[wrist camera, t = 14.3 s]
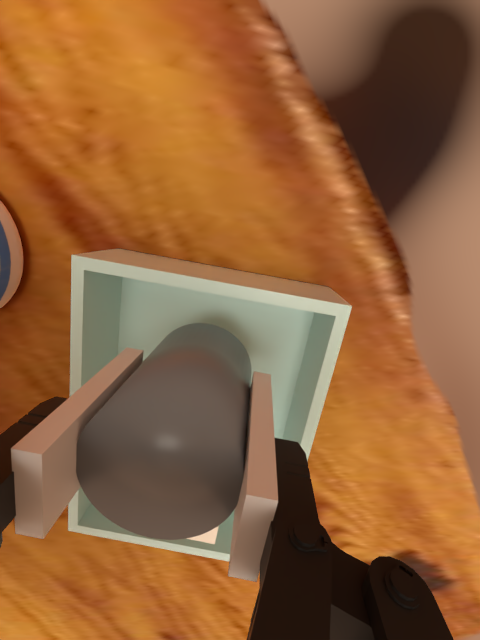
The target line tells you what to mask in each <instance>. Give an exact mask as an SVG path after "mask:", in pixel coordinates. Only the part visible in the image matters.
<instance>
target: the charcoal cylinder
mask: <svg viewBox="0 0 480 640" xmlns="http://www.w3.org/2000/svg"><path fill="white" fill-rule="evenodd" d="M251 374H252V368H251V361H250V358H249V355H248V353H247V351H246V349H245V347H244V346H243V344H242V343H241V342H240V341H239V339H238V338H236V337H235V336H234V335H233V334H232V333H230V332H229V331H227V330H225V329H223V328H221V327H219V326H216V325H212V324H207V323H192V324H187V325H184V326H181V327H179V328H177V329H175V330H173V331H172V332H171V333H169V334H168V335H167V336H166V337H165V338H164V339H163V340H162V341H161V343H160V344H159V345H158V346H157V347H156V348H155V349H154V350H153V351H152V352H151V354H150V355H149V356H148V357H147V358H146V359H145V360H144V361H143V362H142V364H141V365H140V366H139V367H138V368H137V369H136V370H135V371H134V372H133V374H132V375H131V376H130V377H129V378H128V379H127V380H126V381H125V382H124V383H123V385H122V386H121V387H120V388H119V389H118V390H117V391H116V392H115V393H114V395H113V396H112V397H111V398H110V399H109V400H108V401H107V402H106V403H105V405H104V406H103V407H102V408H101V409H100V410H99V411H98V412H97V413H96V414H95V416H94V417H93V418H92V419H91V420H90V421H89V422H88V423H87V425H86V426H85V428H84V429H83V430H82V432H81V434H80V436H79V439H78V441H77V449H76V474H77V478H78V481H79V483H80V486H81V488H82V490H83V492H84V493H85V495H86V496H87V498H88V499H89V501H90V502H91V503H92V504H93V506H94V507H95V508H96V509H97V510H98V511H99V512H100V513H101V514H102V515H104V516H105V517H106V518H107V519H109V520H110V521H112V522H113V523H115V524H116V525H118V526H120V527H121V528H124V529H126V530H128V531H130V532H133V533H135V534H138V535H141V536H145V537H149V538H155V539H163V540H178V539H186V538H192V537H195V536H199V535H202V534H204V533H206V532H209V531H211V530H212V529H214V528H216V527H218V526H219V525H220V524H221V523H223V522H224V521H225V520H226V519H227V518H228V517H229V516H230V515H231V514H232V512H233V511H234V509H235V508H236V506H237V504H238V500H239V495H240V491H241V486H242V481H243V477H244V464H245V450H246V437H247V424H248V410H249V397H250V387H251Z"/></svg>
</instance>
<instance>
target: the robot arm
mask: <svg viewBox="0 0 480 640" xmlns="http://www.w3.org/2000/svg"><path fill="white" fill-rule="evenodd" d="M143 351H144V350H139V349H133V348H128V347H127V348H125V349H124V350H123V351H122V352H121V353H120V354H119V355H117V356H116V357H115V358H114V359H113V360H112V361H110V362H109V363H108V364H107V365H106V366H105V367H104V368H102V369H101V370H100V371H99V372H98V373H97V374H96V375H94V376H93V377H92V378H91V379H90V380H89V381H88V382H86V383H85V384H84V385H83V386H82V387H81V388H80V389H78V390H77V391H76V392H75V393H74V394H73V395H72V396H70V397H69V398H68V399H66V398H61V397H54V398H52V399H49V400H47V401H45V402H42V403H40V404H39V405H38V406H36V407H35V408H34V409H33V410H31V411H30V412H29V413H28V415H25V416H24V417H22V418H21V419H20V420H19V421H18V423H15V424H13V425H12V426H11V427H10V428H8V429H7V430H6V431H5V432H3V433H2V434H1V435H0V547H1V544H2V531H3V530H4V529H5V528H6V527H7V525H8V524H9V523H10V522H11V521H12V520H13V518H14V517H15V534H20V535H25V536H30V537H35V538H40V539H44V538H45V536H46V535H47V533H48V532H49V530H50V529H51V528H52V526H53V525H54V523H55V522H56V521H57V519H58V518H59V516H60V515H61V513H62V512H63V511H64V509H65V508H66V506H67V505H68V504H69V502H70V501H71V499H72V498H73V496H74V495H75V494H76V492H77V491H78V489H79V488H80V487H81V486H80V483H79V481H78V478H77V474H76V449H77V441H78V439H79V436H80V434H81V432H82V430H83V429H84V428H85V426H86V425H87V423H88V422H89V421H90V420H91V419H92V418H93V417H94V416H95V414H96V413H97V412H98V411H99V410H100V409H101V408H102V407H103V406H104V405H105V403H106V402H107V401H108V400H109V399H110V398H111V397H112V396H113V395H114V393H115V392H116V391H117V390H118V389H119V388H120V387H121V386H122V385H123V383H124V382H125V381H126V380H127V379H128V378H129V377H130V376H131V375H132V374H133V372H134V371H135V370H136V369H137V368H138V367H139V366H140V365H141V364H142V362H143ZM259 571H260V589H259V593H258V596H257V600H256V603H255V607H254V611H253V614H252V618H251V624H250V628H249V632H248V637H247V640H453V637H452V635H451V633H450V631H449V629H448V627H447V624H446V622H445V620H444V618H443V616H442V613H441V611H440V609H439V607H438V605H437V603H436V600H435V598H434V596H433V594H432V593H431V591H430V589H429V588H428V586H427V584H426V583H425V581H424V580H423V579H422V578H421V577H420V576H419V575H418V574H417V573H416V572H415V571H414V570H413V569H412V568H410V567H409V566H408V565H406V564H405V563H403V562H402V561H400V560H397V559H395V558H392V557H378V558H376V559H375V560H373V561H372V563H371V565H368V564H366V563H364V562H362V561H360V560H358V559H356V558H354V557H352V556H351V555H349V554H347V553H345V552H344V551H342V550H341V549H339V548H338V547H337V546H336V545H335V544H333V543H332V542H331V539H330V537H329V535H328V533H327V531H326V530H325V528H324V527H323V526H322V525H321V524H320V522H319V519H318V514H317V508H316V503H315V498H314V493H313V488H312V483H311V479H310V473H309V468H308V462H307V457H306V453H305V452H304V450H303V449H302V447H301V446H300V444H299V443H298V442H295V441H290V440H285V439H279V438H275V437H274V420H273V404H272V387H271V374H266V373H260V372H255V371H254V373H253V377H252V382H251V387H250V397H249V410H248V424H247V437H246V450H245V464H244V477H243V481H242V486H241V491H240V495H239V500H238V504H237V506H236V508H235V509H234V520H233V530H232V540H231V550H230V560H229V570H228V576H230V577H235V578H240V579H245V580H250V581H255V582H257V578H258V575H259Z"/></svg>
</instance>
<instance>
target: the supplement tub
mask: <svg viewBox="0 0 480 640" xmlns="http://www.w3.org/2000/svg"><path fill="white" fill-rule="evenodd" d="M22 273H23V249H22V243H21V239H20V236H19V233H18V230H17V227H16V225H15V223H14V221H13V219H12V217H11V215H10V213H9V212H8V210H7V209H6V207H5V206H4V204H3V203H2V202H1V201H0V308H2V307H3V306H4V305H5V304H6V303H7V302H8V301H9V300H10V299H11V298H12V296H13V295H14V293H15V292H16V290H17V288H18V286H19V283H20V280H21V277H22Z"/></svg>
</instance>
